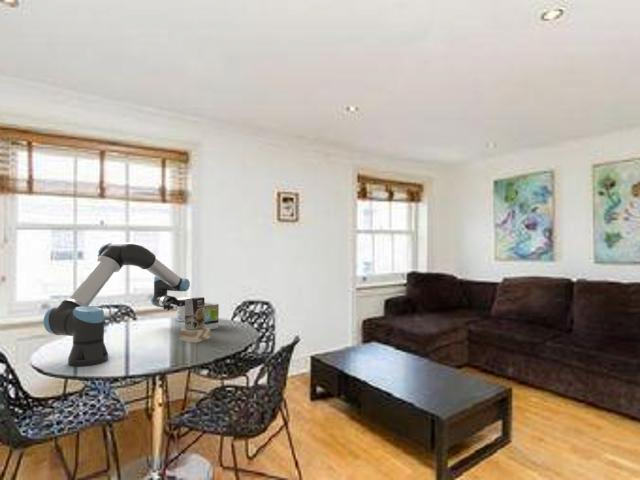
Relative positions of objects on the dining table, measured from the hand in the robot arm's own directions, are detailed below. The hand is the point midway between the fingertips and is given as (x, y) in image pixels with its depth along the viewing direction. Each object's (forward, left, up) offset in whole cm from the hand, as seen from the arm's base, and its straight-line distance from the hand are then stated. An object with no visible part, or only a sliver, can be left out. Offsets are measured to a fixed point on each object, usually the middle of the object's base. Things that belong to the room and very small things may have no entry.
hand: (188, 306), depth 221 cm
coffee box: (0, -7, -11) cm, 13 cm away
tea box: (+20, +14, -17) cm, 30 cm away
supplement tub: (+23, +42, -17) cm, 51 cm away
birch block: (0, -7, -17) cm, 19 cm away
